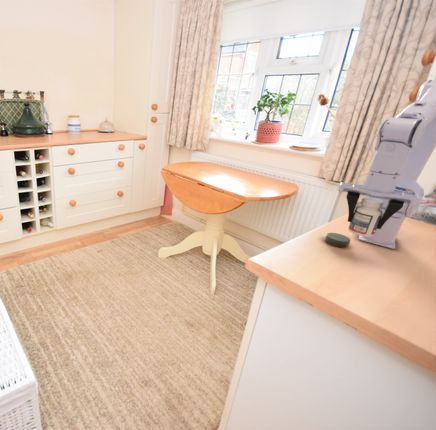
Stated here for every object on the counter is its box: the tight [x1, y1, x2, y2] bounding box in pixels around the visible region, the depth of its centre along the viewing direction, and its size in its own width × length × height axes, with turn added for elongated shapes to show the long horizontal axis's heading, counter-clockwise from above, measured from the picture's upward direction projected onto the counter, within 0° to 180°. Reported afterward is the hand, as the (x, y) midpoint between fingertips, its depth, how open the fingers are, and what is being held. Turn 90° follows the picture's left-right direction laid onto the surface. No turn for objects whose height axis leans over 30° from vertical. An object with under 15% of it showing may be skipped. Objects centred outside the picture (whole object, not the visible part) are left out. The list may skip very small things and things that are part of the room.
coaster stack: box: [324, 232, 351, 249], centre depth 83 cm, size 6×6×2 cm
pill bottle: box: [348, 197, 383, 237], centre depth 73 cm, size 5×5×9 cm
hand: (363, 224), depth 74 cm, fingers closed on pill bottle, 5 cm apart
